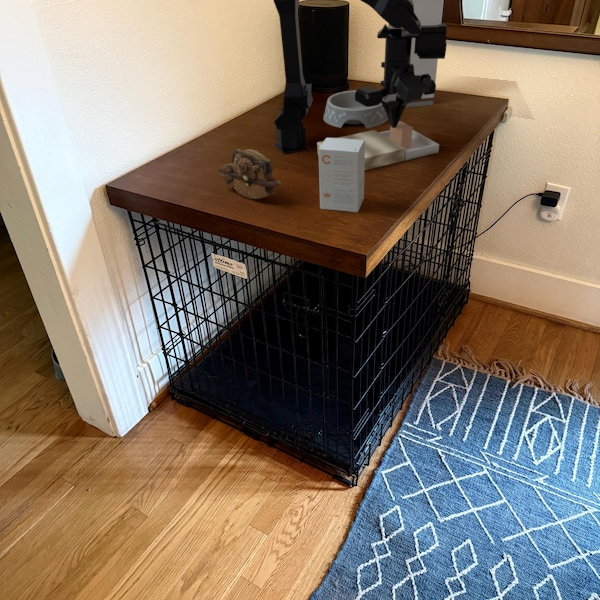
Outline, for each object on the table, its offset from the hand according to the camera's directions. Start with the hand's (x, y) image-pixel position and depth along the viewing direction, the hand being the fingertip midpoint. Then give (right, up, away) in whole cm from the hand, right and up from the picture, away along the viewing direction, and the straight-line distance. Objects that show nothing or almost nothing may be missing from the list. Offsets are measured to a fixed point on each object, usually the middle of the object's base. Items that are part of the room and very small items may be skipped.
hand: (393, 127), depth 135 cm
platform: (-8, -7, +1) cm, 11 cm away
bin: (+4, -3, +5) cm, 7 cm away
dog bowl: (-7, +9, +23) cm, 26 cm away
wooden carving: (-33, -19, -13) cm, 40 cm away
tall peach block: (+1, -2, +2) cm, 3 cm away
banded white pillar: (+10, +18, +32) cm, 38 cm away
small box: (-14, -22, -18) cm, 31 cm away
